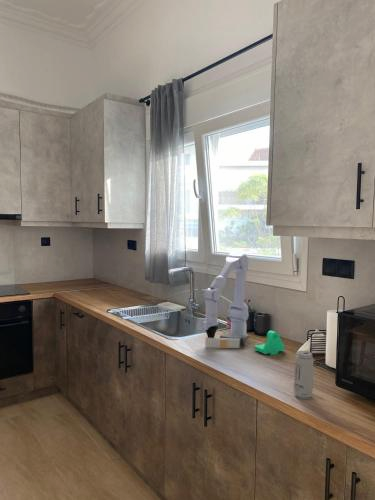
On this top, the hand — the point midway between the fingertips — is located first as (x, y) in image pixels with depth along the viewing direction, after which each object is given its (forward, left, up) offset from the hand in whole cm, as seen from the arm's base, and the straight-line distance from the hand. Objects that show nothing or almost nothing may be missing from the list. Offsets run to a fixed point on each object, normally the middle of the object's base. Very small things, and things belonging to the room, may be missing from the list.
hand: (210, 341), depth 185 cm
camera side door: (0, +6, -2) cm, 6 cm away
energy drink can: (+35, +50, -3) cm, 61 cm away
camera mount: (-7, +27, -3) cm, 28 cm away
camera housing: (-8, +8, -2) cm, 11 cm away
